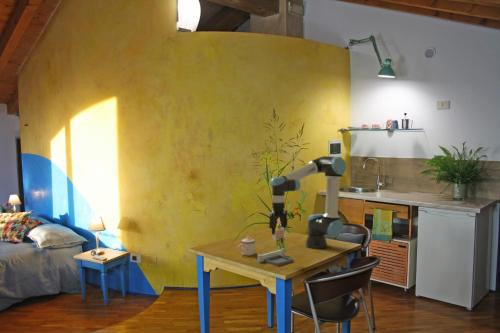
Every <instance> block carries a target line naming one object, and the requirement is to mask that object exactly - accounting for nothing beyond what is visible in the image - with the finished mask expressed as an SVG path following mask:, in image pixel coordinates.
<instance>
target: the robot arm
mask: <svg viewBox="0 0 500 333" xmlns="http://www.w3.org/2000/svg"><path fill="white" fill-rule="evenodd" d="M346 171H347V163H346V161H345V159H344V158H343V157H340V156H326V155H324V156H321V157H320V156H319V157H318V158H315V159H312V160H311V161H309V162H308V163H307V164H305V165H303V166H301V167H299V168H297V169H294V170H292V171H290V172H287V173H285V174H283V175H281V176H274V177H272V178H271V179H270V181H269V183H270V188H271V189H272V192H271V193H272V200H271V201H272V203H271V204H272V206H271V207H272V211H271V212H269V225H268V228H269V229H271V234H272V237H271V238H272V240H274V241H277V239H276V229H277V224H278V220H279V221H280V228H279V229H281V230H282V231H283V233H284V235H283V237H282V238H281V239H285V231H286V228H287V226H288V210H285V199H286V198H285V197H286V196H285V194H286V193H288V192H296V191H299V190H300V189H301V180H303V179H304V178H307V177H309V176H312V175H316V174H321V173H322V174H324V177H325V178H326V190H325V191H326V192H325V206H324V207H325V209H324V213H316V214H310V215H308V220H307V224H308V225H307V226H308V228H307V229H308V230H307V231H308V233H307V238H306V241H305V247H306V248H308V249H316V250H321V249H322V250H323V249H326V248H328V242H327V238H326V236H329V237H333V238H334V237H335V238H336V237H338V236H339V235H340V234H341V233H342V231H343V228H344V226H343V225H344V224H343V222H342V221H341V220H340V217H341V216H340V215H339V214H338V211H339V197H340V196H339V194H340V180H341V179H342V178H343V174H345V172H346Z"/></svg>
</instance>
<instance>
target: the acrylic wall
mask: <svg viewBox="0 0 500 333" xmlns="http://www.w3.org/2000/svg"><path fill="white" fill-rule="evenodd" d="M285 249H286V248H282V247H281V248H280V249H279V250H275V251H271V252H267V253H263V254H257V256H256V258H257V263H263V262H264V259H267V258H271V257H274V256H278V255H281V256H285V257H286V255H285V254H286V252H285V251H286V250H285Z"/></svg>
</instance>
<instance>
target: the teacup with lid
mask: <svg viewBox="0 0 500 333" xmlns="http://www.w3.org/2000/svg"><path fill="white" fill-rule="evenodd" d="M255 240H256V239H253V238H251V237H250V236H249V235H247V236H246V238H244V239H241V243H240V244H238V246H237V249H238V251H239V252H241V254H242V255H243V256H253V255H255V249H256V246H255V245H256V244H255V242H256V241H255ZM240 247H241V249H240Z"/></svg>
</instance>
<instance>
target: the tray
mask: <svg viewBox="0 0 500 333" xmlns="http://www.w3.org/2000/svg"><path fill="white" fill-rule="evenodd" d="M263 262H264V263H266V264H269V265H273V266H276V267H280V266H283V265H286V264H290V263H293V262H294V258H291V257H288V256H286V255H285V256H281V255H278V256H274V257H271V258H267V259H264V261H263Z"/></svg>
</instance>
